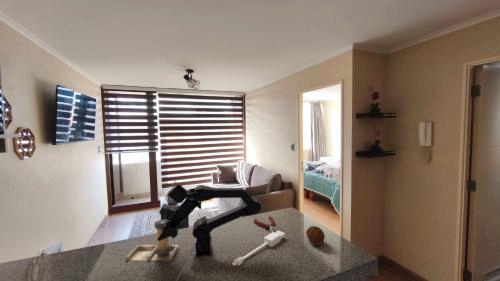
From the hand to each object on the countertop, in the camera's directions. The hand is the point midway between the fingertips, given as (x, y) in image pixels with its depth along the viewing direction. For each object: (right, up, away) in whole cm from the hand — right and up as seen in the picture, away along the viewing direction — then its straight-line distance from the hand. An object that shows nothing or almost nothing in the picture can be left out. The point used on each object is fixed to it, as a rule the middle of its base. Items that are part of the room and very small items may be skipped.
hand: (159, 237), depth 94 cm
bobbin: (+1, -7, +1) cm, 7 cm away
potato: (+71, -8, +11) cm, 72 cm away
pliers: (+48, -7, +28) cm, 56 cm away
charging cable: (+44, -9, +6) cm, 45 cm away
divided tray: (-3, -9, +1) cm, 10 cm away
